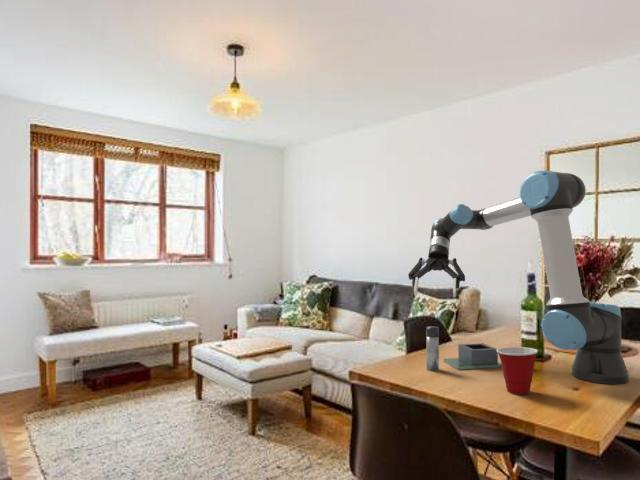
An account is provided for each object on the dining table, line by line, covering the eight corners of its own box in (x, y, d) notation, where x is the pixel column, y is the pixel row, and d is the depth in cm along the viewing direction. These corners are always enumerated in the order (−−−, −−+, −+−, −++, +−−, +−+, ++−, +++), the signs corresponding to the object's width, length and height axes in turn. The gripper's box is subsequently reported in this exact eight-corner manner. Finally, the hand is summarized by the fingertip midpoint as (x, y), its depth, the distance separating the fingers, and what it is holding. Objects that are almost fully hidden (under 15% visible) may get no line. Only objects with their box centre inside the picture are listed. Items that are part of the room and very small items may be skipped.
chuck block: (502, 367, 153) (502, 349, 153) (458, 369, 150) (457, 351, 150) (485, 359, 164) (485, 342, 164) (443, 361, 161) (443, 344, 161)
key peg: (440, 370, 149) (440, 328, 150) (429, 371, 149) (428, 328, 149) (435, 367, 153) (435, 326, 154) (424, 368, 153) (424, 326, 153)
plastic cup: (506, 383, 135) (506, 343, 136) (544, 391, 127) (544, 348, 128) (489, 391, 128) (489, 348, 128) (528, 400, 120) (528, 355, 120)
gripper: (473, 257, 174) (471, 301, 160) (407, 257, 183) (401, 298, 169) (472, 244, 169) (470, 288, 155) (405, 244, 178) (398, 285, 164)
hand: (434, 293), depth 162 cm, fingers open, 13 cm apart
